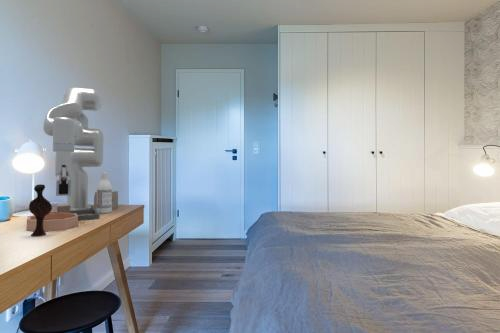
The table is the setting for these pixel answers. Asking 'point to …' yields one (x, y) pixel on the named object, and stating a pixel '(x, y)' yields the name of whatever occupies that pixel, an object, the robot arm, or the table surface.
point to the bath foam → (104, 195)
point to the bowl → (54, 221)
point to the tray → (85, 217)
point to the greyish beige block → (63, 208)
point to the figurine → (39, 210)
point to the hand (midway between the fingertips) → (63, 192)
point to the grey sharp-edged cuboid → (58, 188)
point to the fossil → (114, 200)
